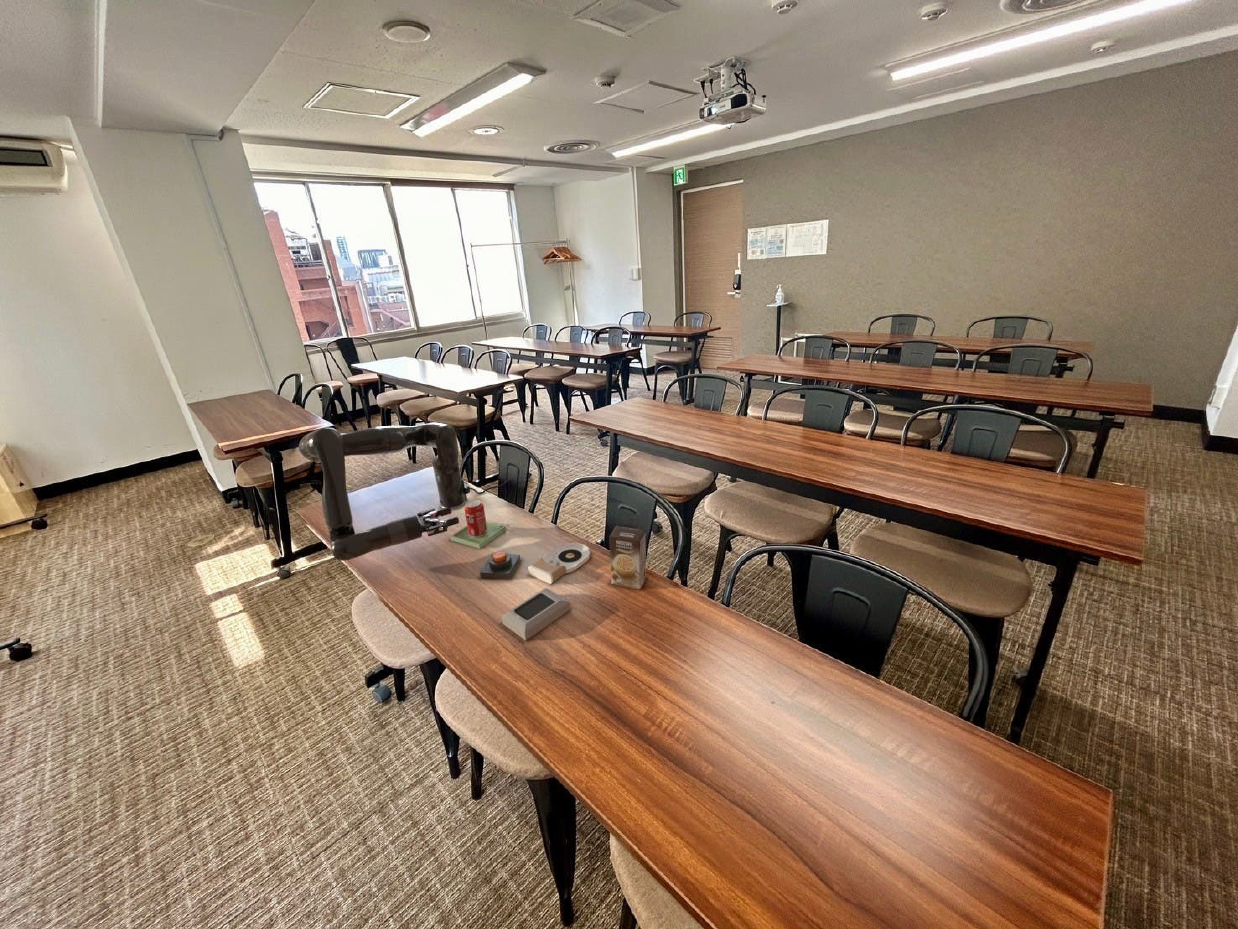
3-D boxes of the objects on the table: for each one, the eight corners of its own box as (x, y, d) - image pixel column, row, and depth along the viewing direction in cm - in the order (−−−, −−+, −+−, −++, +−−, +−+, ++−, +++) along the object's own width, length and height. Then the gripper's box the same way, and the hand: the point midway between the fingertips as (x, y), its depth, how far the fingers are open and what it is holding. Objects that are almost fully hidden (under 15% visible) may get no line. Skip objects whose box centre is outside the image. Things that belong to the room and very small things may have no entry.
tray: (477, 522, 175) (477, 518, 174) (506, 530, 169) (505, 526, 168) (450, 540, 164) (450, 536, 163) (480, 548, 158) (479, 544, 158)
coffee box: (610, 584, 138) (607, 536, 131) (617, 571, 143) (615, 524, 137) (641, 589, 135) (639, 540, 129) (647, 576, 140) (646, 529, 134)
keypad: (569, 598, 127) (523, 629, 117) (570, 609, 128) (525, 640, 118) (545, 584, 133) (500, 612, 123) (547, 595, 134) (502, 623, 124)
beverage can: (471, 530, 169) (465, 499, 164) (489, 528, 169) (484, 498, 165) (467, 539, 163) (461, 508, 159) (486, 538, 164) (480, 506, 159)
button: (496, 556, 147) (495, 551, 147) (507, 556, 147) (506, 551, 146) (492, 562, 144) (491, 557, 143) (503, 563, 144) (502, 558, 143)
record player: (525, 564, 143) (569, 535, 158) (526, 573, 144) (569, 543, 159) (553, 577, 137) (597, 545, 152) (554, 586, 138) (597, 554, 153)
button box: (493, 559, 152) (491, 548, 150) (520, 560, 151) (519, 549, 149) (481, 578, 143) (479, 567, 141) (510, 579, 142) (508, 568, 140)
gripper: (405, 529, 144) (459, 512, 152) (396, 511, 155) (446, 497, 163) (411, 550, 147) (463, 533, 155) (401, 531, 158) (450, 516, 166)
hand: (454, 514), depth 159 cm, fingers open, 8 cm apart
